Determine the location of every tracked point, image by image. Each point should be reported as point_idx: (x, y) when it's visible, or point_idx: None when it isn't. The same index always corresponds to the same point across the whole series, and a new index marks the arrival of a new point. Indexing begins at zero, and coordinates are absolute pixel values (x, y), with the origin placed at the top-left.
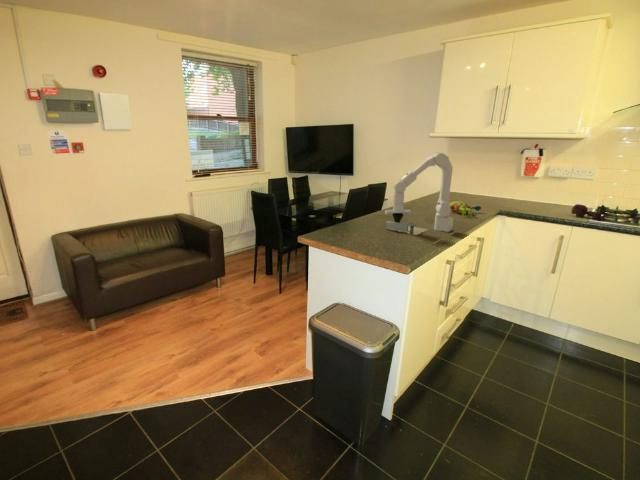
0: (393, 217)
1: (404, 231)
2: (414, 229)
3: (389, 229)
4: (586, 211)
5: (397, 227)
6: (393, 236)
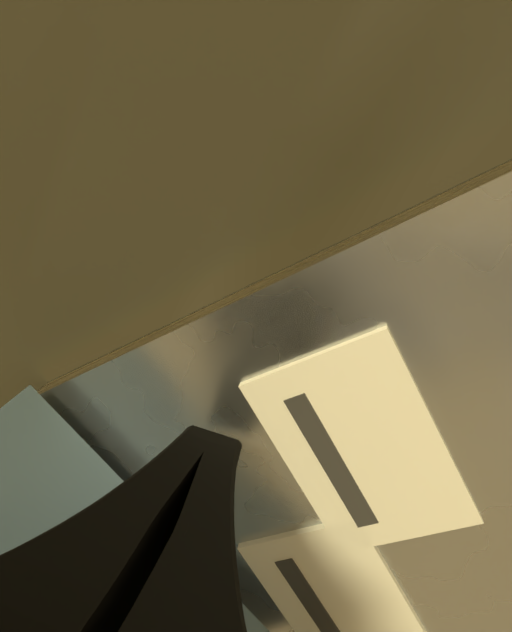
0: (12, 558)
1: None
2: (501, 629)
3: None
4: None
5: None
6: None
